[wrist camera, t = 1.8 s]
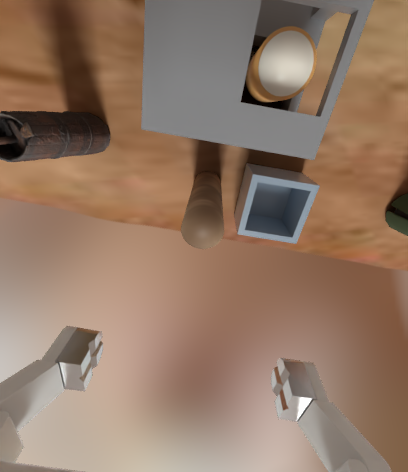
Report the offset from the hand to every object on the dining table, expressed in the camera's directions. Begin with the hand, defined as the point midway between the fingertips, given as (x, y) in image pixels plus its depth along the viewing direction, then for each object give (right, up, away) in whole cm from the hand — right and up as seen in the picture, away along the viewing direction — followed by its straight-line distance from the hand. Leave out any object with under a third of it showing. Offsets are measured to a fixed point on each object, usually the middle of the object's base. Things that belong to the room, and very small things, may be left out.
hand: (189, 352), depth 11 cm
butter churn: (-14, +20, +21) cm, 32 cm away
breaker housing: (+4, +25, +18) cm, 31 cm away
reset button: (+8, +23, +15) cm, 28 cm away
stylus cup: (+10, +12, +25) cm, 29 cm away
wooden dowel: (+1, +13, +24) cm, 28 cm away
